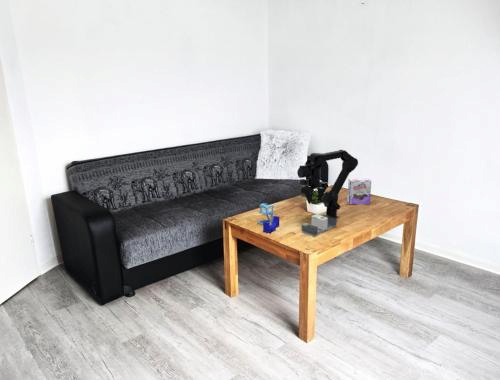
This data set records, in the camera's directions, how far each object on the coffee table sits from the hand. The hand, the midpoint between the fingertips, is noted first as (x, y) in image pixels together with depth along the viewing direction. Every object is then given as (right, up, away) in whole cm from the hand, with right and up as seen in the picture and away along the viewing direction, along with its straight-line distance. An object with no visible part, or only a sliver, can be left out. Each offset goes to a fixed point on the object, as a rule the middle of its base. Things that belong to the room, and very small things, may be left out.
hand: (314, 201), depth 235 cm
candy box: (+34, -2, +33) cm, 48 cm away
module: (+1, -14, -9) cm, 17 cm away
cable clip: (-25, -16, -7) cm, 30 cm away
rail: (+1, -15, -9) cm, 17 cm away
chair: (-27, -12, +2) cm, 30 cm away
